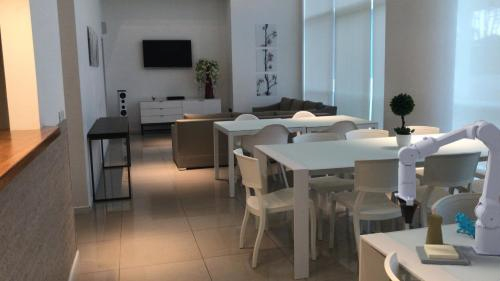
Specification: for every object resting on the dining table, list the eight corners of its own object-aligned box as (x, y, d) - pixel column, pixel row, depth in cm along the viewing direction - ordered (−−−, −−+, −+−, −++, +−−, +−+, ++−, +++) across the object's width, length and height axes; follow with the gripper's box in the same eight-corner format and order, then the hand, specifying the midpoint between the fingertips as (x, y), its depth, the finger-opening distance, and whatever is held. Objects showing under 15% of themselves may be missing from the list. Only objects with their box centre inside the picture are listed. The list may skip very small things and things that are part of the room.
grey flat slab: (458, 250, 161) (459, 243, 161) (468, 265, 150) (468, 257, 149) (415, 249, 164) (415, 242, 164) (421, 263, 152) (421, 255, 152)
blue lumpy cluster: (469, 236, 171) (453, 212, 176) (457, 244, 174) (441, 220, 180) (485, 233, 177) (470, 210, 182) (474, 241, 180) (458, 218, 186)
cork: (422, 242, 170) (422, 212, 169) (438, 241, 171) (438, 211, 169) (430, 248, 164) (430, 218, 163) (446, 247, 165) (447, 216, 163)
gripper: (392, 176, 171) (392, 213, 173) (397, 186, 157) (397, 226, 158) (413, 176, 169) (412, 213, 171) (419, 186, 155) (419, 226, 157)
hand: (406, 219), depth 165 cm, fingers open, 7 cm apart
